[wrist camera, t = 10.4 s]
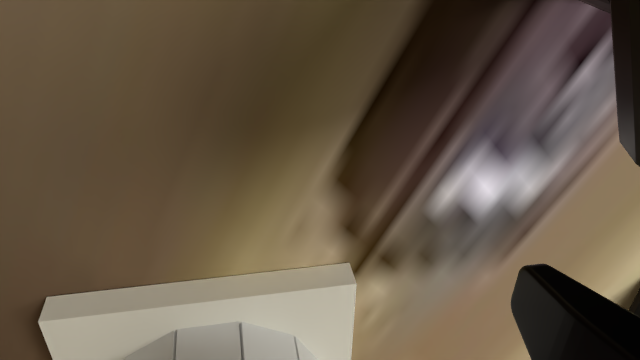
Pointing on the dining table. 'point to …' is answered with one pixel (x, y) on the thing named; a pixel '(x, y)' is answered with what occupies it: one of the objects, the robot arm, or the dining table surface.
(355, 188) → the dining table surface
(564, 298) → the robot arm
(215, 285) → the socket base
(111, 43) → the dining table surface
